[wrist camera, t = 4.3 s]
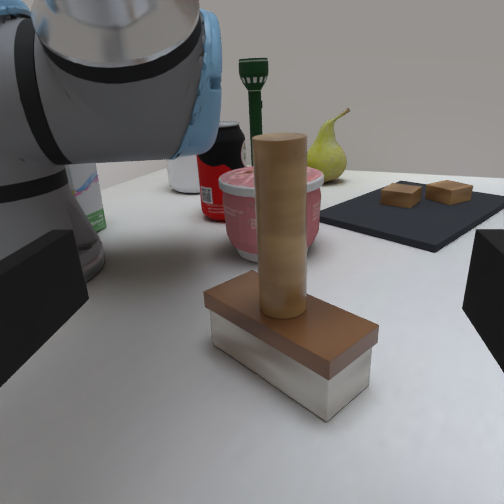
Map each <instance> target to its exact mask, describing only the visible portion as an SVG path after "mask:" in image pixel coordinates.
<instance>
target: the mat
mask: <svg viewBox="0 0 504 504" xmlns="http://www.w3.org/2000/svg"><path fill="white" fill-rule="evenodd" d="M396 184H405V185H414V186H422V192H421V200H420V202H418V203H417V204H416V205H414V206H413V207H412V208H411V209H410V208H403V207H395V206H388V205H381V204H380V199H381V190H382V189H383V188H385V187H383V188H380V189H378V190H375V191H372V192H370V193H367V194H364V195H362V196H359V197H356V198H353V199H351V200H348V201H345V202H343V203H340V204H337V205H335V206H332V207H329V208H326V209H324V210H321V211H320V219H319V222H323V223H327V224H330V225H334V226H338V227H342V228H345V229H349V230H353V231H357V232H360V233H364V234H368V235H372V236H376V237H379V238H383V239H387V240H391V241H394V242H398V243H402V244H406V245H410V246H413V247H417V248H421V249H425V250H428V251H432V252H436V251H438V250H439V249H441V248H442V247H444V246H445V245H447V244H449V243H450V242H452V241H453V240H455V239H456V238H458V237H460V236H461V235H463V234H464V233H466V232H467V231H469V230H471V229H472V228H474V227H475V226H477V225H478V224H480V223H481V222H483V221H485V220H486V219H488V218H489V217H491V216H492V215H494V214H496V213H497V212H499V211H500V210H502V209H503V208H504V196H500V195H493V194H486V193H480V192H473V191H472V195H471V200H470V201H466V202H462V203H458V204H454V205H446V204H443V203H439V202H435V201H432V200H428V199H425V194H426V185H427V184H420V183H413V182H407V181H399V182H397V183H396ZM386 187H387V186H386Z"/></svg>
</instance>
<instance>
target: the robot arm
mask: <svg viewBox="0 0 504 504" xmlns="http://www.w3.org/2000/svg"><path fill="white" fill-rule="evenodd" d="M221 73H222V47H221V35H220V27H219V22H218V19H217V17H216V15H215V14H214V13H212V12H208V11H206V10H203V9H200V4H199V0H34V2H33V6H32V10H31V12H30V11H29V8H28V7H27V5H26V4H25V3H24V2H23V1H20V0H0V387H1V386H2V385H3V384H4V383H5V382H6V381H7V380H8V379H9V378H10V377H11V376H12V375H13V374H14V373H15V372H16V371H17V370H18V369H19V368H20V367H21V366H22V365H23V364H24V363H25V362H26V361H27V360H28V359H29V358H30V357H31V356H32V355H33V354H34V353H35V352H36V351H37V350H38V349H39V348H40V347H41V346H42V345H43V344H44V343H45V342H46V341H47V340H48V339H49V338H50V337H51V336H52V335H53V334H54V333H55V332H56V331H57V330H58V329H59V328H60V327H61V326H62V325H63V324H64V323H65V322H66V321H67V320H68V319H69V318H70V317H71V316H72V315H73V314H74V313H75V312H76V311H77V310H78V309H79V308H80V307H81V306H82V305H83V304H84V303H85V302H86V301H87V300H88V299H89V297H88V292H87V288H86V284H85V282H86V281H87V280H89V279H90V278H92V277H93V276H94V275H95V274H96V273H97V272H98V271H99V270H100V269H101V268H102V266H103V265H104V262H105V256H104V251H103V246H102V242H101V240H100V238H99V236H98V234H97V233H96V231H95V229H94V228H93V226H92V225H91V223H90V221H89V220H88V218H87V216H86V215H85V213H84V211H83V210H82V208H81V206H80V205H79V203H78V201H77V200H76V198H75V196H74V195H73V193H72V191H71V189H70V185H69V181H68V177H67V173H66V168H65V165H69V164H85V163H105V162H124V161H144V160H163V159H169V160H174V159H176V158H178V157H184V156H191V155H199V154H203V153H205V152H207V151H208V150H209V149H210V148H211V147H212V146H213V144H214V143H215V140H216V137H217V133H218V128H219V121H220V110H221V85H220V83H221ZM462 309H463V311H464V312H465V314H466V315H467V317H468V318H469V320H470V321H471V323H472V324H473V326H474V328H475V329H476V331H477V332H478V334H479V335H480V337H481V338H482V340H483V341H484V343H485V344H486V346H487V348H488V349H489V351H490V352H491V354H492V355H493V357H494V358H495V360H496V361H497V363H498V364H499V366H500V368H501V369H502V371H503V372H504V229H476V233H475V238H474V244H473V250H472V255H471V261H470V267H469V272H468V278H467V284H466V290H465V295H464V301H463V307H462Z"/></svg>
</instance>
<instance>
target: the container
mask: <svg viewBox="0 0 504 504" xmlns="http://www.w3.org/2000/svg"><path fill="white" fill-rule="evenodd" d="M323 183H324V175H323V173H322V172H321V171H319V170H317V169H314V168H310V167H307V252H308V249H309V248H308V247H309V246H310V245H311V244H312V243H313V242H314V240H315V237H316V235H317V233H318V230H319V219H320V204H321V192H320V187H321V186H322V185H323ZM219 188H220V189H221V190H222V191H223V197H222V199H223V207H224V215H225V223H226V231H227V235H228V237H229V239H230V241H231V243H232V244H233V246H234V247H236V248H237V249H238V253H239V255H240V256H242V257H243V258H245V259H247V260H250V261H253V262H258V256H257V234H256V213H255V192H254V171H253V166H252V167H245V168H240V169H235V170H232V171H229V172H226V173H224V174H223V175H221V176H220V177H219Z"/></svg>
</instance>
